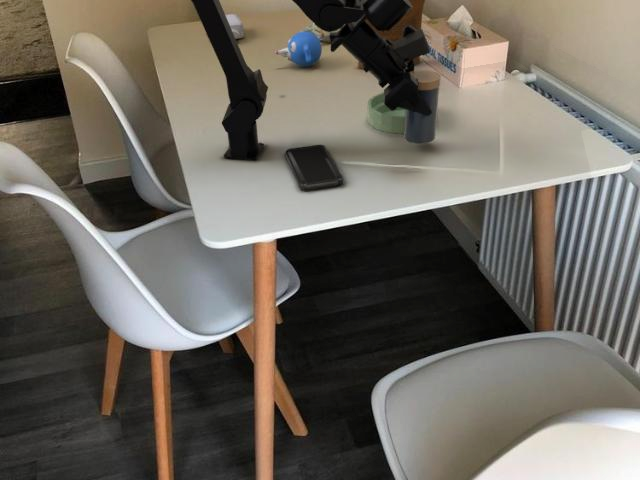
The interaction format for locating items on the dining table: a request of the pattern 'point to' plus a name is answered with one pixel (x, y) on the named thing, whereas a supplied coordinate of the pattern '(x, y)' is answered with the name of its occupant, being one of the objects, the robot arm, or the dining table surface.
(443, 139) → the dining table surface
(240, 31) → the charger
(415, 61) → the pancake mix bag
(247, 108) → the robot arm
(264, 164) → the dining table surface
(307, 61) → the blue mole toy
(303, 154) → the phone
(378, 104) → the bowl
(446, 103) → the dining table surface
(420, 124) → the canister
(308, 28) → the salad plate
